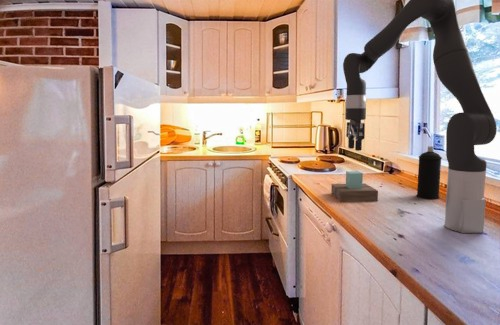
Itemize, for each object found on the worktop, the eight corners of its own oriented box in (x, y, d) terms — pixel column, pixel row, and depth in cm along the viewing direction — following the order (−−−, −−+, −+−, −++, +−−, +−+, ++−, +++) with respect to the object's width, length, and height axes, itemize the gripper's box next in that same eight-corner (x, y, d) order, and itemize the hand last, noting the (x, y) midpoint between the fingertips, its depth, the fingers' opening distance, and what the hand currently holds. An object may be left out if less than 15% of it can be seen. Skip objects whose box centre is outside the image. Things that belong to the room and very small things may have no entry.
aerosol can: (426, 200, 138) (429, 147, 135) (411, 195, 146) (414, 145, 143) (444, 198, 140) (447, 146, 138) (428, 193, 148) (431, 145, 145)
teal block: (362, 188, 141) (362, 173, 140) (349, 188, 141) (349, 173, 140) (358, 185, 146) (358, 171, 145) (345, 186, 146) (346, 171, 145)
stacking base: (377, 201, 138) (378, 190, 137) (341, 201, 137) (341, 191, 136) (364, 192, 151) (364, 183, 151) (331, 193, 151) (331, 184, 150)
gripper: (372, 106, 132) (370, 151, 135) (359, 107, 146) (358, 147, 149) (351, 107, 132) (350, 151, 134) (340, 107, 146) (339, 147, 148)
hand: (354, 149), depth 141 cm, fingers open, 8 cm apart
